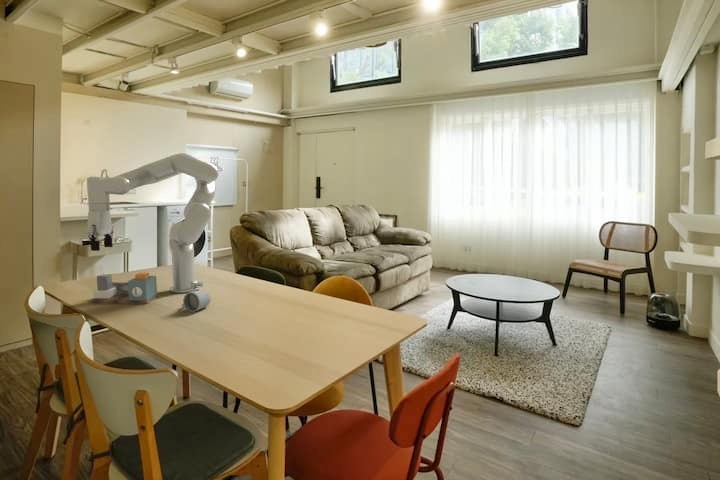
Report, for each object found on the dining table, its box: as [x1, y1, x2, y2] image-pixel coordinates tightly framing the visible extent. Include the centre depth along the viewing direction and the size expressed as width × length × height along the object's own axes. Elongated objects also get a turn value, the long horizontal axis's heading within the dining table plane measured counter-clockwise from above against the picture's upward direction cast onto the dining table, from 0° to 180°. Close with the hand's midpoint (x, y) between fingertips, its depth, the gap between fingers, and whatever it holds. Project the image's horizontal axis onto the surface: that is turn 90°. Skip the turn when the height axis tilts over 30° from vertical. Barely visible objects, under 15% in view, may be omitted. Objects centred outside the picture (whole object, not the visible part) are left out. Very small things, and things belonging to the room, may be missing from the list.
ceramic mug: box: [181, 289, 212, 313], centre depth 169 cm, size 11×8×8 cm
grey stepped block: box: [92, 273, 117, 298], centre depth 178 cm, size 6×7×9 cm
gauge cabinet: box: [127, 275, 158, 300], centre depth 179 cm, size 7×11×8 cm, turn 3°
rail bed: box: [88, 281, 158, 305], centre depth 179 cm, size 23×10×7 cm, turn 93°
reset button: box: [134, 272, 150, 280], centre depth 178 cm, size 4×4×3 cm
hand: (102, 248), depth 176 cm, fingers open, 9 cm apart
